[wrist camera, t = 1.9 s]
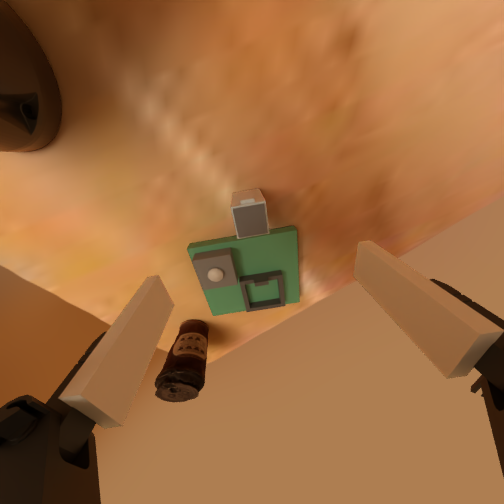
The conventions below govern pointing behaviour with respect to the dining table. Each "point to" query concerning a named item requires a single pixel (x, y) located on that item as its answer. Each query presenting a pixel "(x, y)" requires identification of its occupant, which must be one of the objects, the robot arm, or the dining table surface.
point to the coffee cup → (184, 364)
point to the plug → (249, 213)
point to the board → (248, 271)
